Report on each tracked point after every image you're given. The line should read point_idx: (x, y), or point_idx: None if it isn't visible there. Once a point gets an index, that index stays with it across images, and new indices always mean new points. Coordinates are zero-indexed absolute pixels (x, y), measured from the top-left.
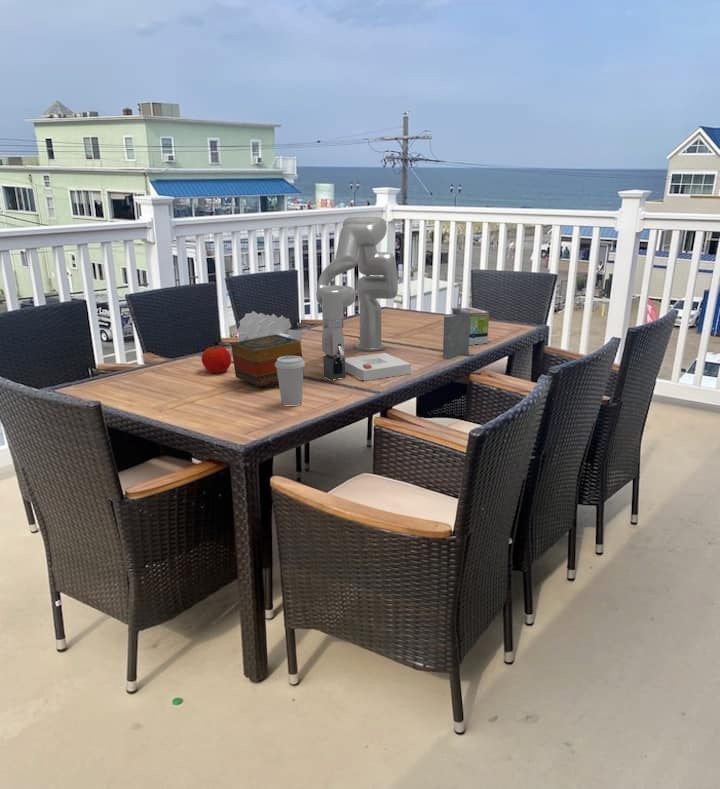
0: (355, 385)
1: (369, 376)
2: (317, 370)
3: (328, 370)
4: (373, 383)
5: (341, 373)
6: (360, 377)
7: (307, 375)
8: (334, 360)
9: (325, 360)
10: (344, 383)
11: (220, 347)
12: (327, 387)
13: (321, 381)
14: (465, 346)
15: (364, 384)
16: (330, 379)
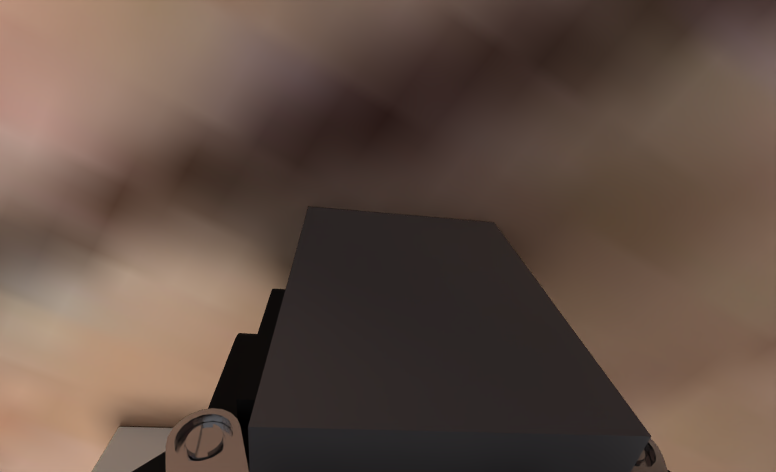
0: (8, 325)
1: None
2: (728, 280)
3: (356, 266)
4: (27, 457)
5: None
6: None
7: (685, 93)
8: (238, 468)
9: (496, 369)
10: (129, 274)
11: None
12: (20, 13)
13: (341, 101)
14: None
15: (18, 396)
16: (307, 213)
